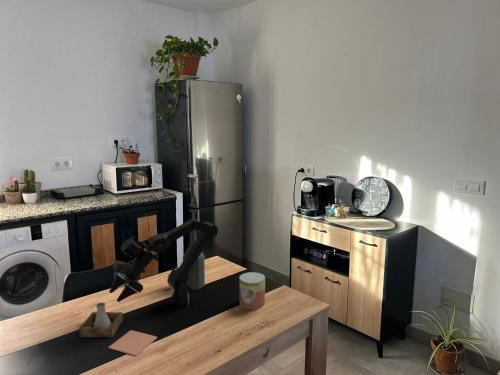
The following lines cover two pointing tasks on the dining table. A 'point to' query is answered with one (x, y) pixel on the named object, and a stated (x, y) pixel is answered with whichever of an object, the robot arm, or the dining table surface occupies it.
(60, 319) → the dining table surface
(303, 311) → the dining table surface
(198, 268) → the bottle
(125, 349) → the terracotta mat
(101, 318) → the flask
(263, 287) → the canned food
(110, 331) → the walnut box
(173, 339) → the dining table surface
